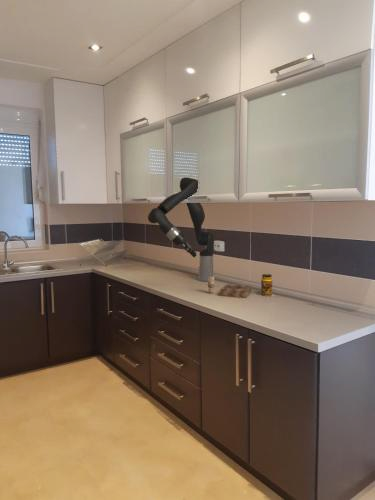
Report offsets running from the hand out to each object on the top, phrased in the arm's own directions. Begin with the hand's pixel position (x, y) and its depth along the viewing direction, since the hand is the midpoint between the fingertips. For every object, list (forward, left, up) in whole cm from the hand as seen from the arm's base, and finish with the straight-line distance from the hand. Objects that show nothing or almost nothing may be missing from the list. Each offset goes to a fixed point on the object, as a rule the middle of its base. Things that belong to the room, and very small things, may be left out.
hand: (195, 255), depth 227 cm
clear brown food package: (+23, +5, -22) cm, 32 cm away
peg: (+8, +3, -22) cm, 24 cm away
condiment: (+39, +9, -23) cm, 46 cm away
